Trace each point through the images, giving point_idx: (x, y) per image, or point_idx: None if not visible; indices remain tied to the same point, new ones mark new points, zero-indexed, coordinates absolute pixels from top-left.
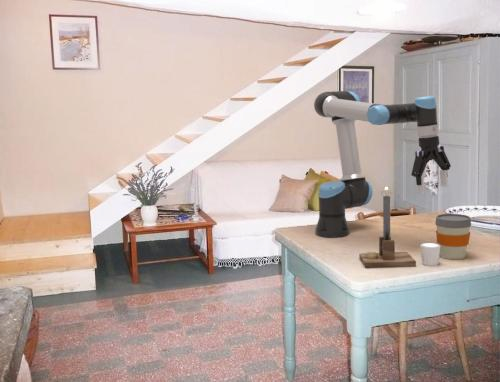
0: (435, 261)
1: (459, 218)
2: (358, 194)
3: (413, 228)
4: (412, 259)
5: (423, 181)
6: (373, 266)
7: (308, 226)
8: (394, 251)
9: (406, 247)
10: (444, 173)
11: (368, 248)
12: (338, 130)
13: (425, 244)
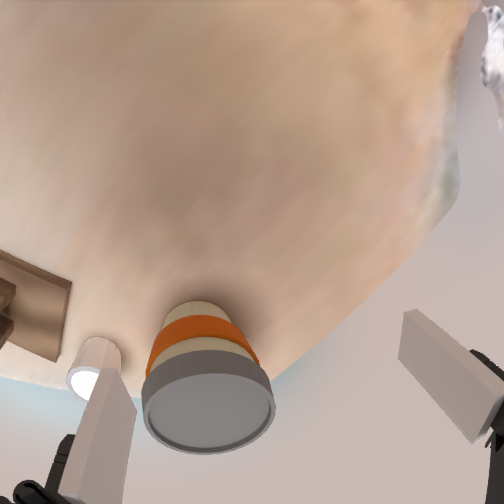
0: None
1: (235, 417)
2: None
3: (334, 10)
4: (52, 349)
5: (118, 490)
6: None
7: None
8: (4, 343)
9: (129, 189)
10: (460, 418)
11: (20, 142)
12: None
13: (82, 377)
